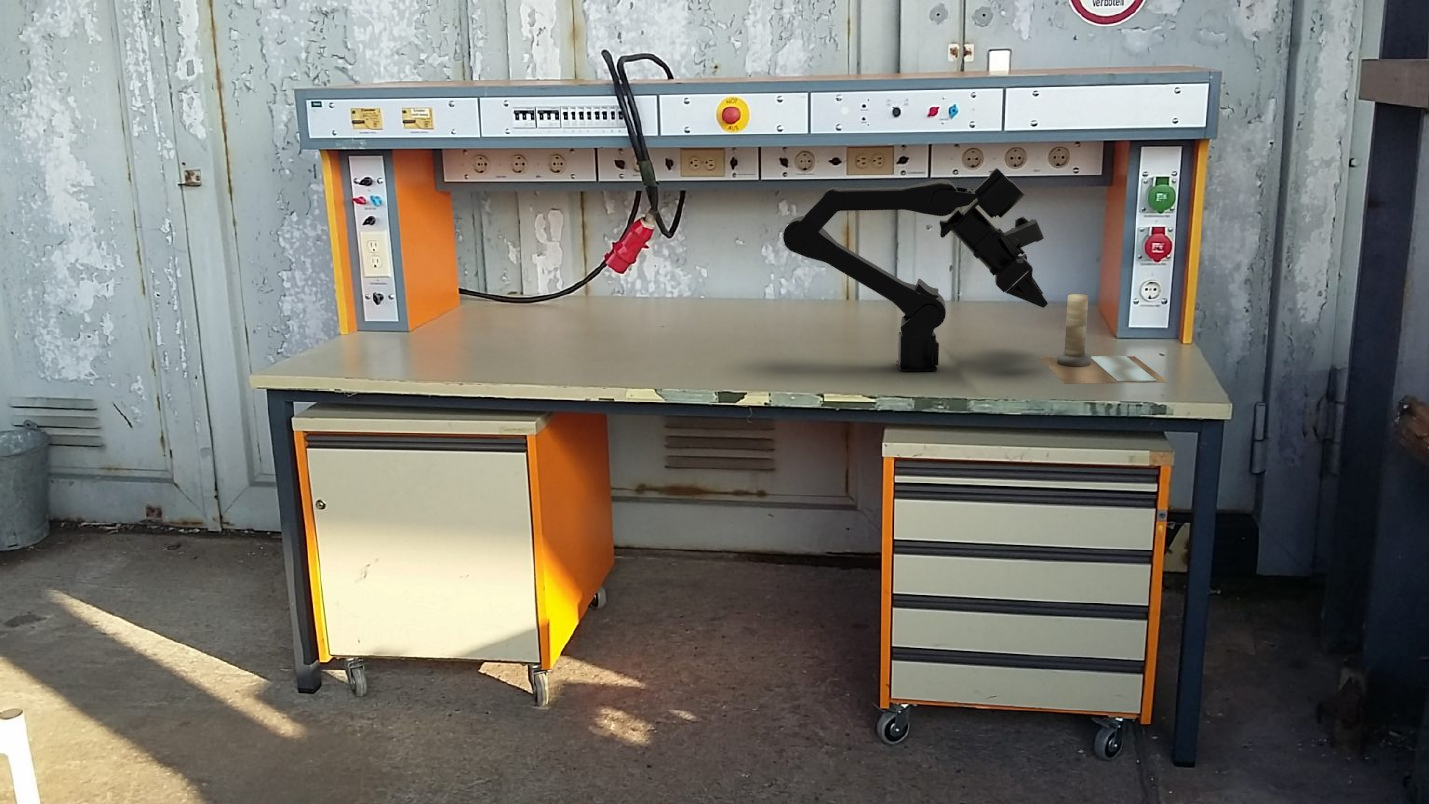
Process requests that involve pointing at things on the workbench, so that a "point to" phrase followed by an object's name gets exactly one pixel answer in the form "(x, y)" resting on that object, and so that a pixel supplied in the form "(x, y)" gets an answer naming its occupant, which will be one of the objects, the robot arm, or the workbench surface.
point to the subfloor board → (1105, 371)
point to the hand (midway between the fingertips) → (1043, 300)
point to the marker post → (1075, 333)
